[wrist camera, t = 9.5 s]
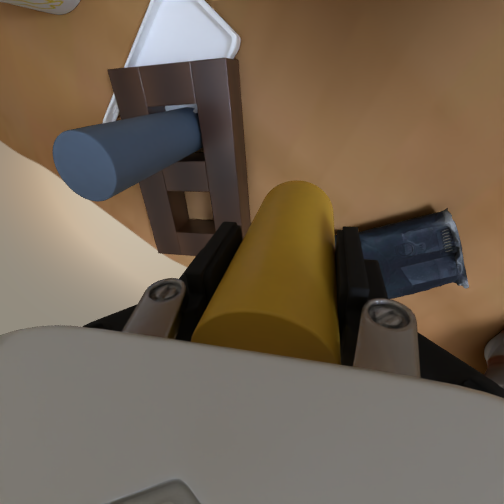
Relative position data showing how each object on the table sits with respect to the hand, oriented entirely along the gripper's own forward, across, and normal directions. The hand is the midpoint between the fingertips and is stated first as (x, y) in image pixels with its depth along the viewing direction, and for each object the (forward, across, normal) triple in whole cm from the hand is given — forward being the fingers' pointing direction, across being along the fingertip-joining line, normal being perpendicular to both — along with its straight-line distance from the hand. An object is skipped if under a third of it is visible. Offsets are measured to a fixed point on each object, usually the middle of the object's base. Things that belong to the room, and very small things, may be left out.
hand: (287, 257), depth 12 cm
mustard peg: (+4, 0, 0) cm, 4 cm away
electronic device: (+18, -7, +11) cm, 23 cm away
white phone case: (+17, +13, -6) cm, 22 cm away
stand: (+18, +12, +1) cm, 22 cm away
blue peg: (+18, +12, -3) cm, 22 cm away
